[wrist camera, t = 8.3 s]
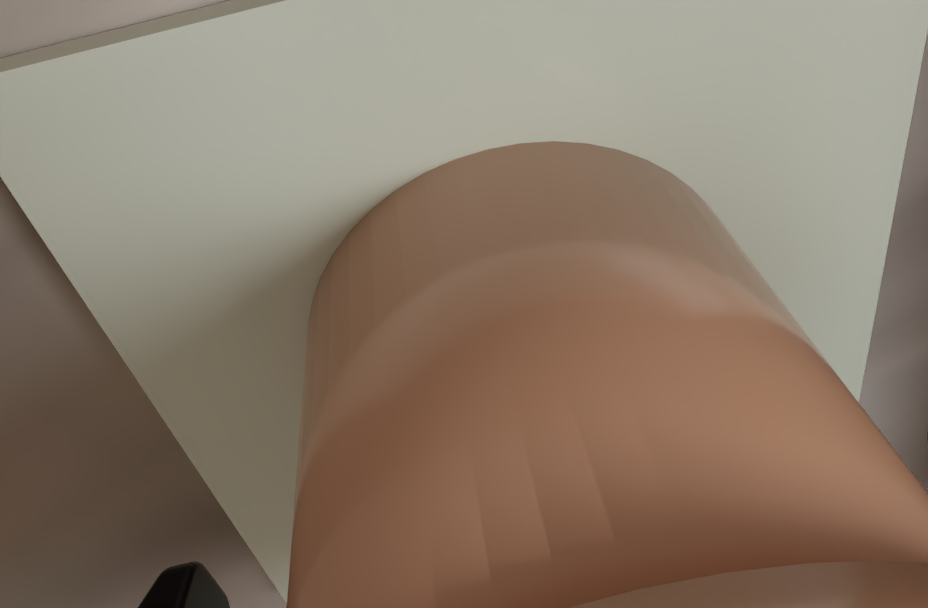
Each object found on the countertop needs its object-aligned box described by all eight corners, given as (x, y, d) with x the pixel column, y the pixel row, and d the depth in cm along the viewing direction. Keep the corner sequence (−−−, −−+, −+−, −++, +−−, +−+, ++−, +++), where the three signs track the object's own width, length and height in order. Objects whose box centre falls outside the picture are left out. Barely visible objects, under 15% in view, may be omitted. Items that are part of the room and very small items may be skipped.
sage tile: (827, 462, 15) (842, 487, 14) (294, 586, 15) (292, 613, 15) (928, -176, 8) (965, -171, 8) (-37, 67, 8) (-59, 87, 8)
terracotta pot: (754, 442, 13) (1070, 997, 7) (361, 533, 13) (369, 1141, 8) (778, 46, 9) (1608, 648, 3) (190, 191, 9) (-101, 1018, 3)
